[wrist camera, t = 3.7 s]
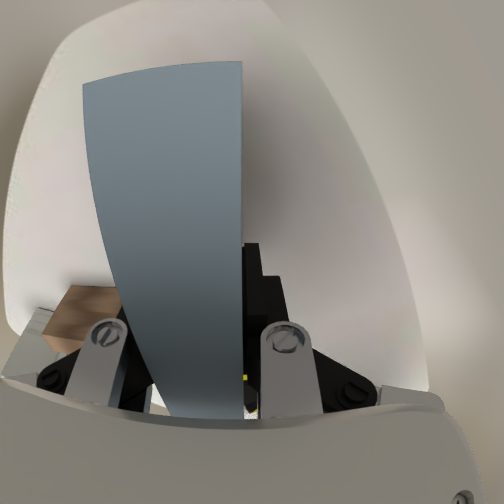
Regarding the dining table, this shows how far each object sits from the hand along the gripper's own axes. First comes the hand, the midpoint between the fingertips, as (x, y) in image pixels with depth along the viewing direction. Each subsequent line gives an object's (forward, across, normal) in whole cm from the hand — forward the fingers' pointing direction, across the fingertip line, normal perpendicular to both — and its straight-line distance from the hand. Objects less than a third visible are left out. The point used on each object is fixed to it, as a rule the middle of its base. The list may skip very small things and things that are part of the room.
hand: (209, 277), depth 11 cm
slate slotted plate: (+11, 0, 0) cm, 11 cm away
